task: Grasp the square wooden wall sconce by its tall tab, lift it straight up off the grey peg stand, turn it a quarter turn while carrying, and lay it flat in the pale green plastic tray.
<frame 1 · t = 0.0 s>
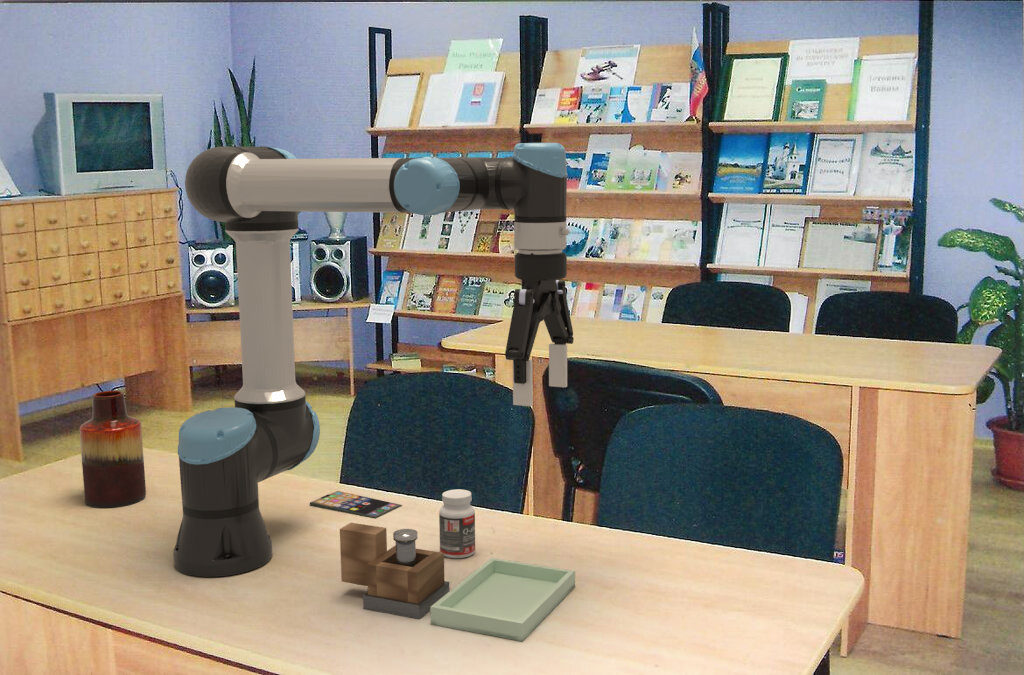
hand: (541, 395, 157), 28 cm above the table, fingers open, 13 cm apart
tray: (505, 604, 151), on the table
vase: (116, 500, 200), on the table
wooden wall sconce: (406, 588, 152), point 2 cm above the table, touching grey peg stand
smartphone: (355, 509, 195), on the table
grey peg stand: (407, 601, 152), on the table
pill bottle: (457, 554, 171), on the table
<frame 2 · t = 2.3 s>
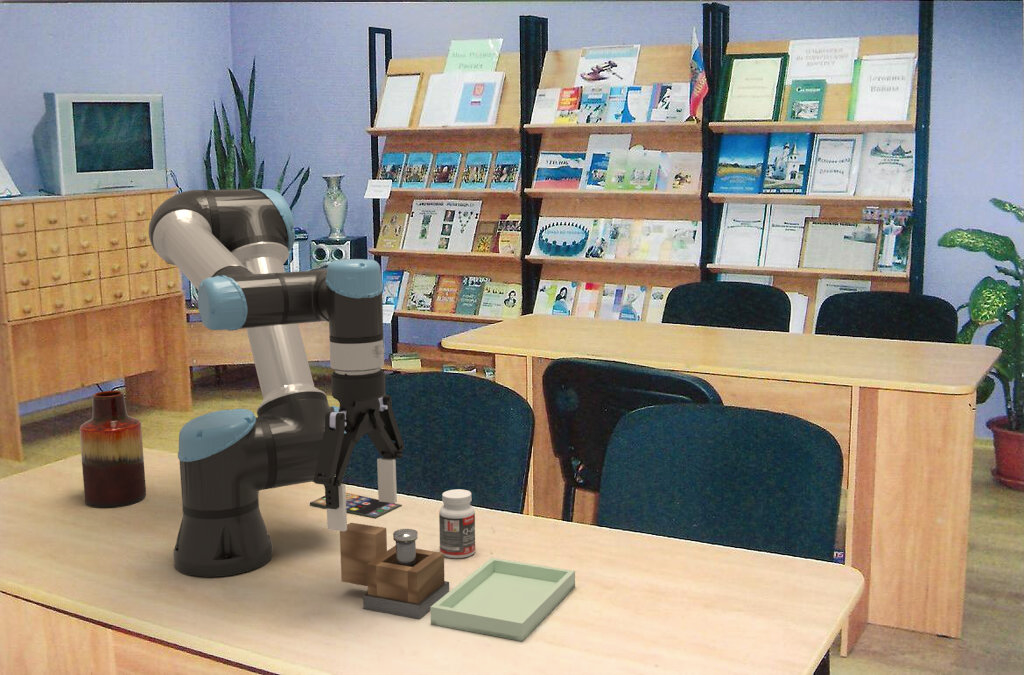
hand: (363, 515, 153), 12 cm above the table, fingers open, 13 cm apart
nothing on the table moved.
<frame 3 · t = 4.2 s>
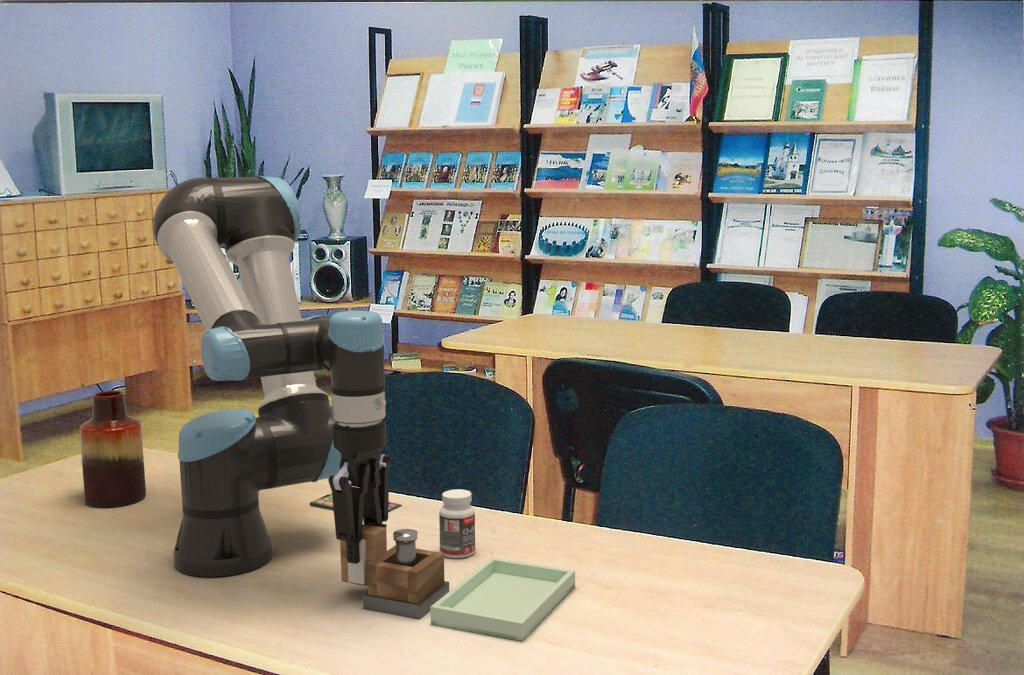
hand: (364, 577, 155), 3 cm above the table, fingers closed on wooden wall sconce, 3 cm apart
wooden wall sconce: (406, 588, 152), point 2 cm above the table, touching gripper, grey peg stand
everything else where it was.
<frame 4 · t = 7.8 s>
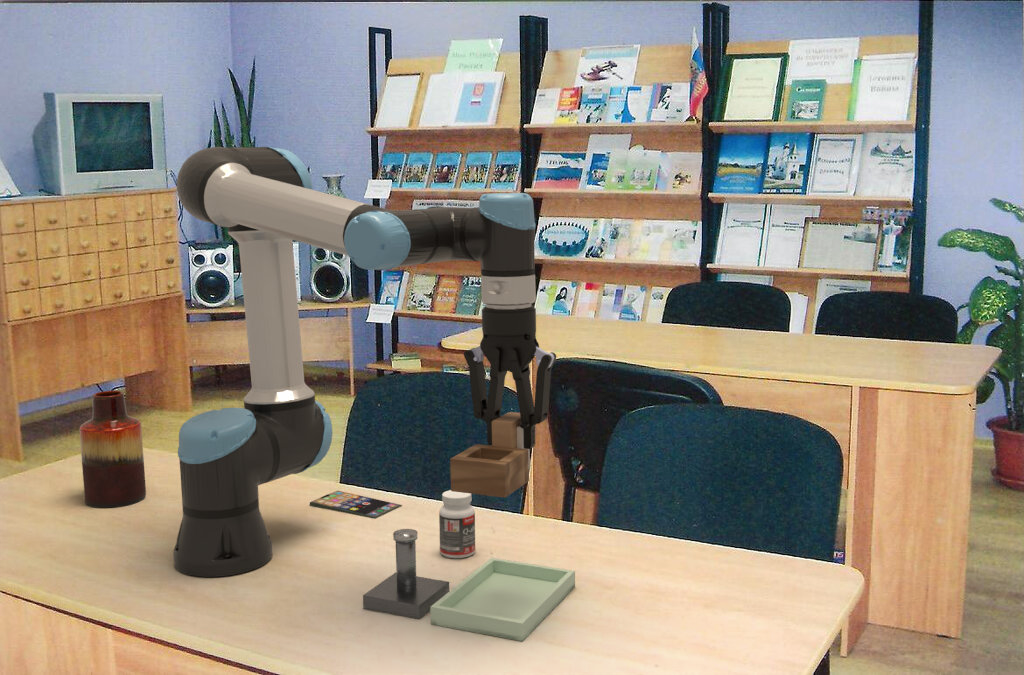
hand: (511, 468, 151), 19 cm above the table, fingers closed on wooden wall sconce, 3 cm apart
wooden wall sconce: (490, 485, 145), point 19 cm above the table, touching gripper
everything else where it was.
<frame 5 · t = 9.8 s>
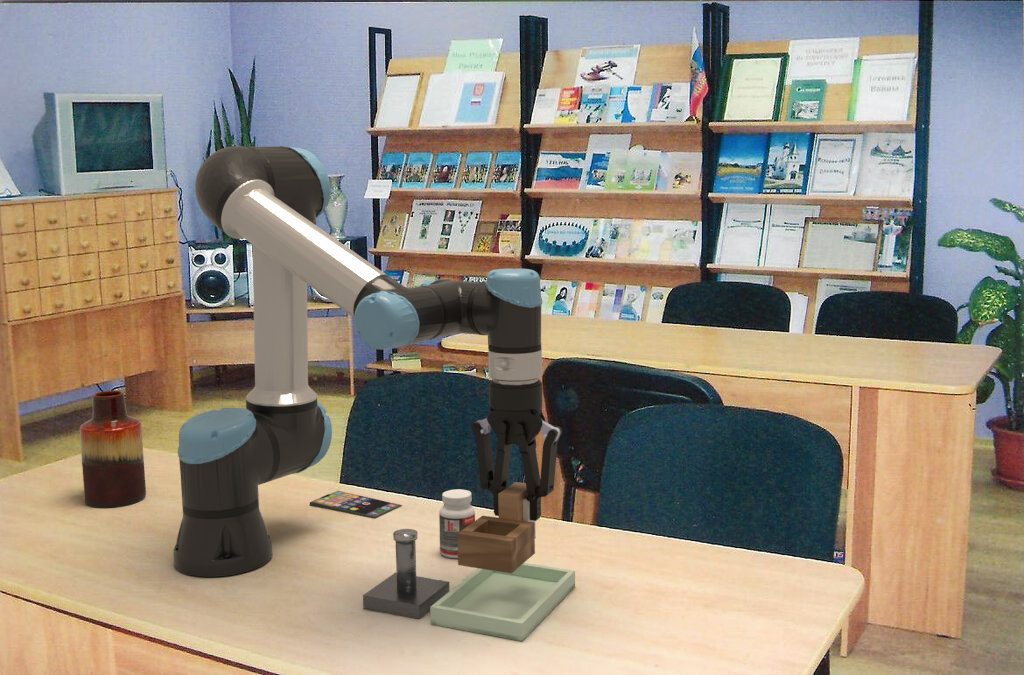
hand: (517, 538, 153), 8 cm above the table, fingers closed on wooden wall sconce, 3 cm apart
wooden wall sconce: (497, 559, 147), point 8 cm above the table, touching gripper
everything else where it was.
when the fingers open (4 cm above the table, at t = 11.4 s): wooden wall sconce drops 2 cm, resting on tray.
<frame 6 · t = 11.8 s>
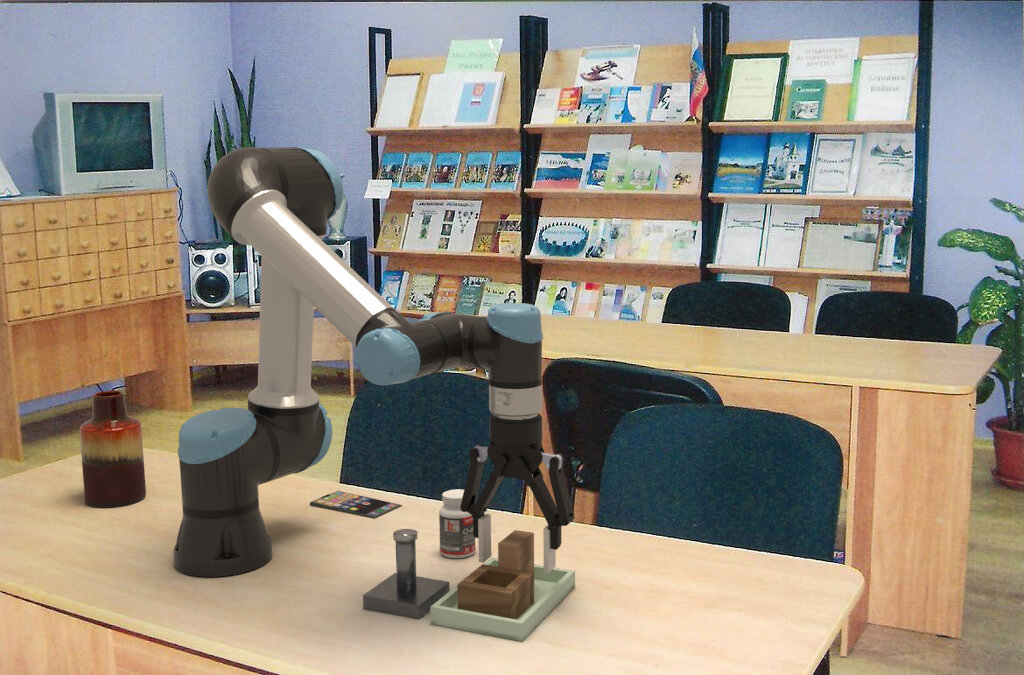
hand: (516, 564, 154), 5 cm above the table, fingers open, 9 cm apart
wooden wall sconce: (496, 609, 148), point 1 cm above the table, touching tray
everything else where it was.
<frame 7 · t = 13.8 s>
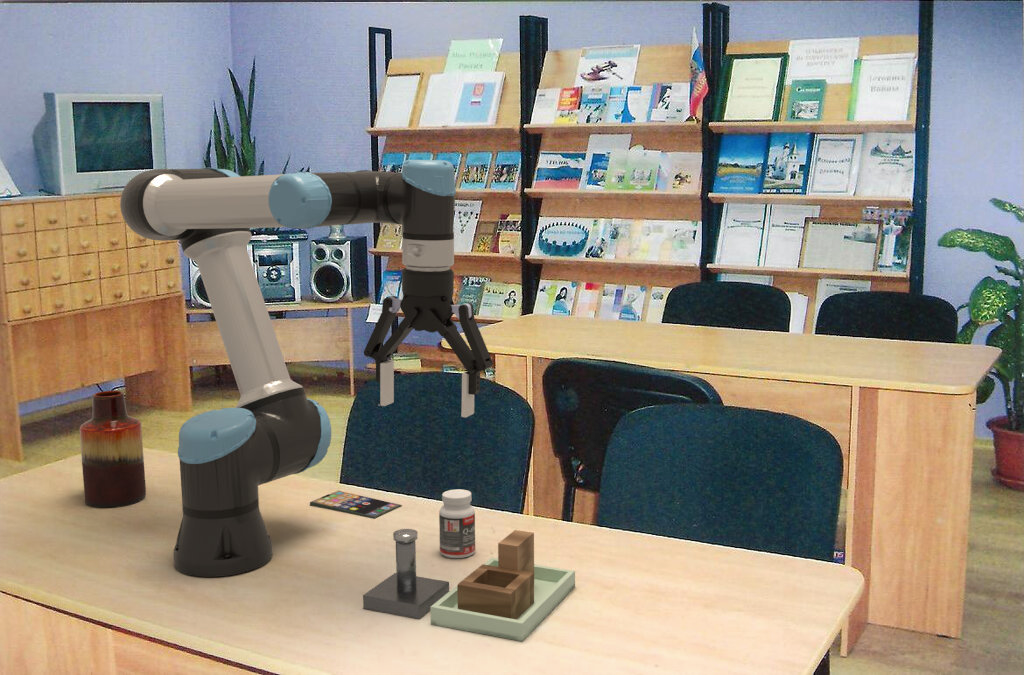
hand: (426, 409, 158), 26 cm above the table, fingers open, 13 cm apart
nothing on the table moved.
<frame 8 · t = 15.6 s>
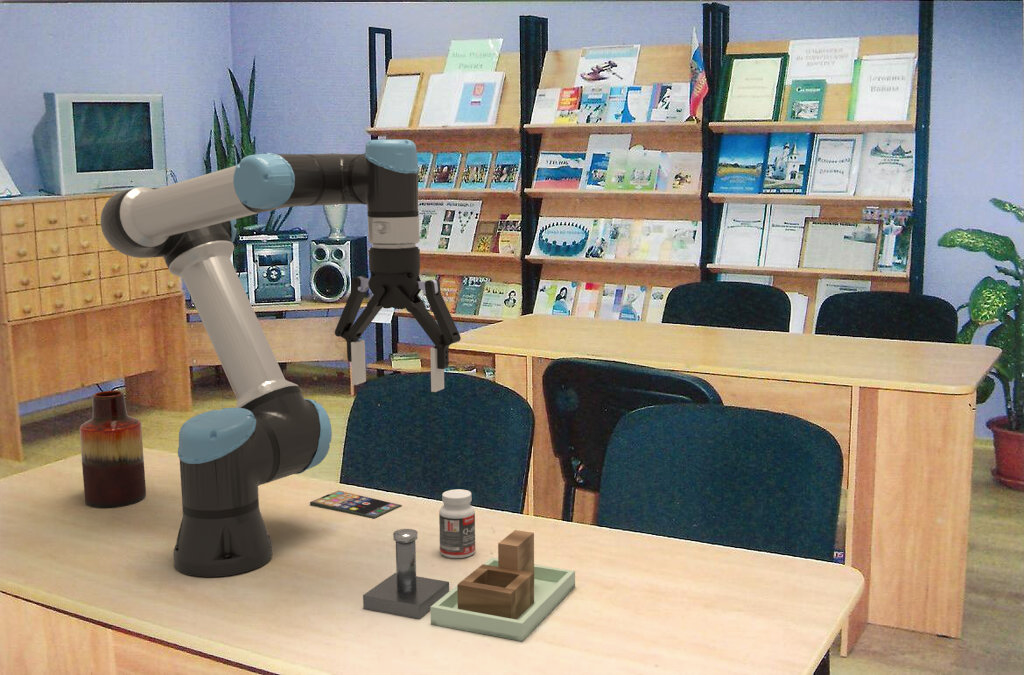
hand: (397, 386, 160), 29 cm above the table, fingers open, 13 cm apart
nothing on the table moved.
at the end: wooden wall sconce inside the target area on the tray (1.4 cm from its centre), point 0.6 cm above the tray's base; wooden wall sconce tilted 0°; the gripper is holding nothing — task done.
